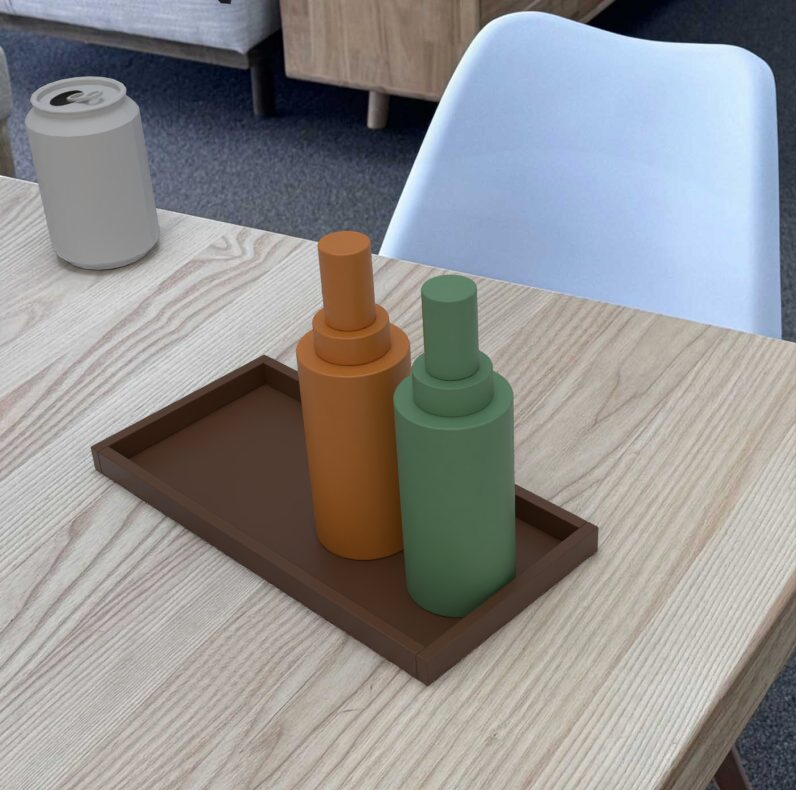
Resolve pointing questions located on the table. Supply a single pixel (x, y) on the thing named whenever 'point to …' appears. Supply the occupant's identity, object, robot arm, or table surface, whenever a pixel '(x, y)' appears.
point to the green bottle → (455, 459)
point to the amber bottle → (352, 405)
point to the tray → (295, 522)
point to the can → (92, 172)
